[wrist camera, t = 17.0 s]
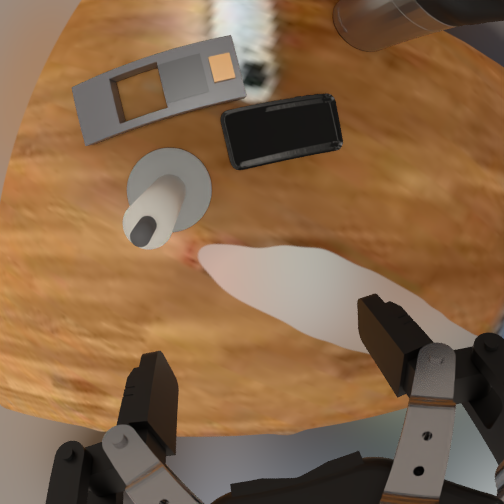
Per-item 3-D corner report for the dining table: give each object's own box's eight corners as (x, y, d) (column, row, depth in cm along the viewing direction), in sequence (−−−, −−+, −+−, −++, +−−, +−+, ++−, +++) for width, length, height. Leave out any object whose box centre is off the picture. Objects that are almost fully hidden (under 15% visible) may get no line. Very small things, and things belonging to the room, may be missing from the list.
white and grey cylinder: (180, 170, 37) (157, 201, 21) (190, 202, 39) (176, 255, 23) (147, 180, 37) (104, 218, 21) (157, 212, 39) (124, 269, 23)
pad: (199, 137, 36) (199, 137, 36) (220, 218, 41) (221, 219, 40) (117, 163, 36) (116, 163, 35) (143, 240, 40) (142, 241, 40)
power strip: (229, 41, 32) (231, 33, 28) (243, 98, 35) (247, 95, 32) (80, 89, 31) (68, 86, 28) (94, 144, 34) (83, 146, 31)
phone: (344, 149, 38) (233, 172, 38) (340, 148, 39) (232, 170, 39) (333, 91, 35) (218, 111, 35) (330, 92, 36) (218, 112, 36)
